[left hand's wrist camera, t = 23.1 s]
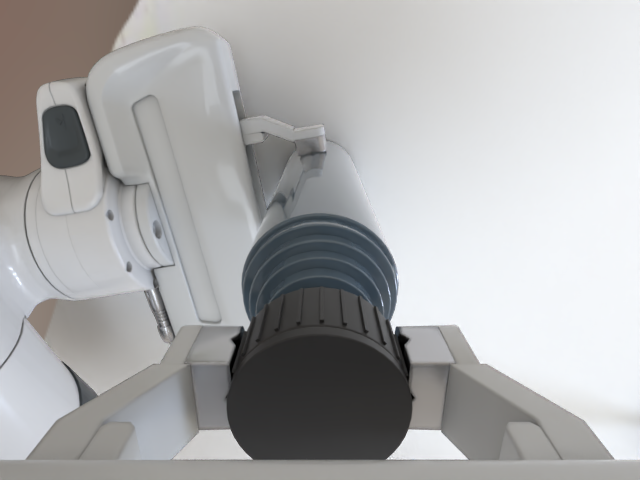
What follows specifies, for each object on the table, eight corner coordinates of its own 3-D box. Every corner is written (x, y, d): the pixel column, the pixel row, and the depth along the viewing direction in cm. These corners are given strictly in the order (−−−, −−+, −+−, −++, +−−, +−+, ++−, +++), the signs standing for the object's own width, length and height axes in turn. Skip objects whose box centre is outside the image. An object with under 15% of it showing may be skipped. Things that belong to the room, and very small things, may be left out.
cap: (287, 435, 11) (280, 505, 9) (211, 323, 10) (185, 378, 8) (421, 383, 11) (443, 447, 9) (358, 257, 9) (367, 300, 8)
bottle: (370, 172, 31) (488, 383, 9) (323, 222, 32) (329, 510, 10) (316, 124, 29) (305, 235, 8) (271, 178, 31) (153, 401, 9)
